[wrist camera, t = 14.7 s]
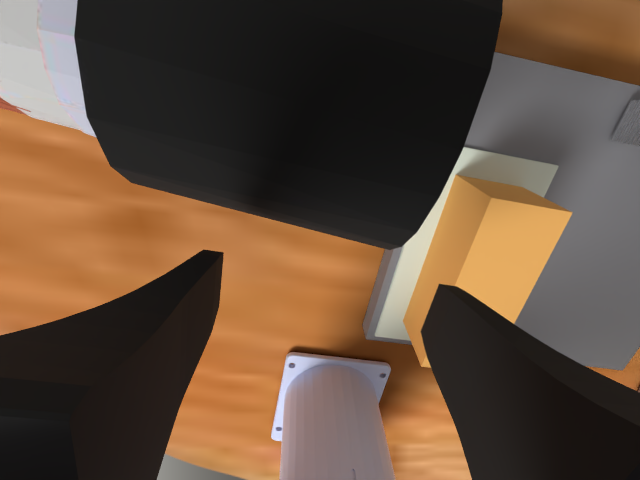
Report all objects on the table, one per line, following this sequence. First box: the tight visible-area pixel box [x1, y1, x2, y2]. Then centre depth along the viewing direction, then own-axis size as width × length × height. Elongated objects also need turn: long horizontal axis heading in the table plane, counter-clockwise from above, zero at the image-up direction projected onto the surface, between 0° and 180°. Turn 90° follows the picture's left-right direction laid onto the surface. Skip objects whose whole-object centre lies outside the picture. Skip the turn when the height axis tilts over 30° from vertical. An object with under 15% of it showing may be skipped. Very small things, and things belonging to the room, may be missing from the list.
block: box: [403, 175, 573, 368], centre depth 19 cm, size 10×4×4 cm, turn 169°
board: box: [362, 52, 640, 370], centre depth 22 cm, size 18×20×2 cm
